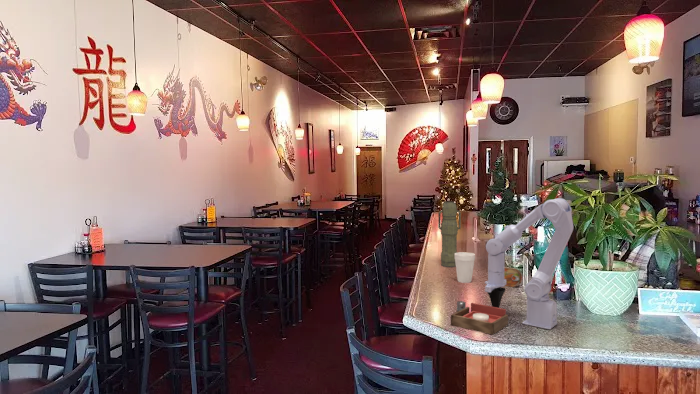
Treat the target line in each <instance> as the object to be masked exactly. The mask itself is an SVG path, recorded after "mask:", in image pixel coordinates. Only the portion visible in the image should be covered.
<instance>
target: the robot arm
mask: <svg viewBox="0 0 700 394" xmlns="http://www.w3.org/2000/svg"><path fill="white" fill-rule="evenodd" d="M572 209H573V208H572V207H571V205H570V204H569V202H568V201H567V200H566V199H564V198H563V197H558V198H554V199H547V200H546V201H544V203H542V204H540V205H538V206H537V207H535V208H534V209H533V210H532V211H530V213H528V214H527V215H525V216H524V218H522V219H521V220H520V221H518V223H517V224H509V225H505V226H504V230H502V231H501V232H499V233H496V234H495V235H494V238H490V239H489V240H488V241H487V242H486V244H485V250H486V252H487V253H488V256H487V257H488V258H487V259H488V260H487V280H486V281H484V284H485V286H484V292H485V293H487V294H488V296H489V299H490V303H491V304H490V305H491V306H492V307H497V308H500V306H501V302H502V299H503V295H504V293H505V292H506V288H505V287H506V286H505V285H506V279H504V267H505V252H506V251H507V250H508V248H510V247H511V246H513V244H515V243H516V242H518V241H519V239H521V238H522V236H523V232H524V231H525V230H527V229H528V228H530V227H531V226H532V225H534V224H535V223H537V222H538V221H540V220H543V219H548V220H549V221H550V222H551V223H552V226H553V227H554V233H553V234H552V237H551V239H550V241H549V243H548V247H547V248H546V251H545V252H544V255H543V257H542V260H541V262H540V264H539V265H538V266H539V267H538V269H537V270H536V272H535V273H534V275H533V276H532V278H531V279H530V281H528V282H527V283H526V284H525V286H524V293H525V295H526V319H525V320H523V321H522V322H521V324H523V325H527V326H531V327H532V326H533V327H536V328H542V329H545V330H551V329H553V328H554V327H555V326H556V325H558V321H557V320H558V305H557V302H556V301H554V300H551V299H550V296H549V293H550V292H551V290H552V282H553V275H554V272H555V270H556V268H557V266H558V264H559V262H560V260H561V258H562V255H563V253H564V251H565V249H566V247H567V244H568V242H569V240H570V238H571V235H572V233H573V231H574V227H575V226H574V221H573V215H572V211H573V210H572Z"/></svg>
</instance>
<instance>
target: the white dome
mask: <svg viewBox="0 0 700 394" xmlns="http://www.w3.org/2000/svg"><path fill="white" fill-rule="evenodd" d="M473 319H476V320H481V321H485V322H489V315H487V314H483V313H475V314H473Z"/></svg>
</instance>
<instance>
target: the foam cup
mask: <svg viewBox="0 0 700 394" xmlns="http://www.w3.org/2000/svg"><path fill="white" fill-rule="evenodd" d="M475 261H476V254H475V253H474V252H465V251H464V252H463V251H462V252H461V251H459V252H458V251H457V253H455V263H456V267H455V270H456V279H457V282H459V283H463V284H468V283H471V282H472V279H473V272H474V266H475Z"/></svg>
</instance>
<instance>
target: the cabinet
mask: <svg viewBox="0 0 700 394" xmlns="http://www.w3.org/2000/svg"><path fill="white" fill-rule="evenodd" d="M468 313H470V307H469V306H466V308H464V309H462V310H460V311H458V312H457V311H456V312H454V313H452V314H451V315H450V326H453V327H457V328H463V329H467V330H471V331H476V332H480V333H484V334H487V335H488V334H489V335H494V334H496V333H498V332H499V331H502V329H504V328H506V327H507V326H509V315H508V314H506V315H504V316H502V317H501V318H499V319H498V320H496V321H494V322H493V323H490V322H485V321H481V320H476V319H472V318H467V317H462V316H464V315H466V314H468Z"/></svg>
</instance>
